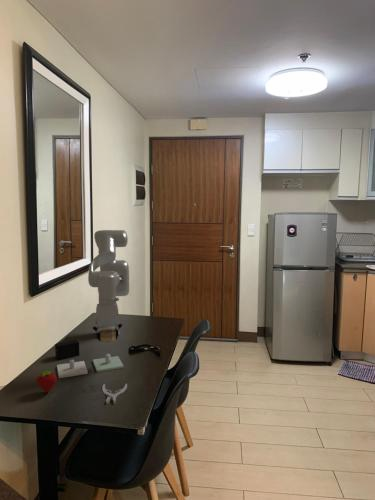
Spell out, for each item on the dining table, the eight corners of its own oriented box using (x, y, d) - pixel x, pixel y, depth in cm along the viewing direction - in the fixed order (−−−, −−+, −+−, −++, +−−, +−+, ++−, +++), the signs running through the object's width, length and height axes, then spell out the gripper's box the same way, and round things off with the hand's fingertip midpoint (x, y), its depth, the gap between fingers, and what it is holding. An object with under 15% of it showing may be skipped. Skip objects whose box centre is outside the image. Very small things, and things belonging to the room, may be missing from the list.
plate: (92, 361, 175) (92, 351, 174) (118, 357, 180) (118, 347, 179) (96, 372, 164) (96, 361, 164) (123, 368, 169) (123, 357, 168)
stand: (57, 366, 169) (56, 357, 168) (84, 362, 174) (83, 353, 173) (58, 378, 158) (58, 368, 157) (87, 373, 163) (87, 363, 162)
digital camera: (75, 352, 186) (75, 338, 186) (79, 355, 182) (79, 341, 181) (54, 356, 180) (54, 343, 179) (58, 360, 176) (57, 346, 175)
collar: (98, 337, 172) (98, 329, 172) (113, 336, 175) (113, 327, 174) (101, 343, 166) (101, 334, 165) (116, 341, 168) (116, 332, 168)
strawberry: (54, 396, 143) (54, 371, 142) (34, 396, 143) (34, 371, 142) (59, 388, 149) (58, 364, 148) (40, 388, 149) (39, 365, 147)
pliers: (127, 381, 153) (124, 400, 139) (127, 385, 154) (124, 404, 139) (103, 382, 153) (97, 401, 138) (103, 385, 153) (97, 405, 138)
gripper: (124, 297, 175) (124, 334, 177) (86, 300, 168) (87, 338, 170) (128, 301, 168) (128, 339, 170) (88, 304, 161) (89, 344, 163)
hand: (107, 338), depth 170 cm, fingers closed on collar, 7 cm apart
